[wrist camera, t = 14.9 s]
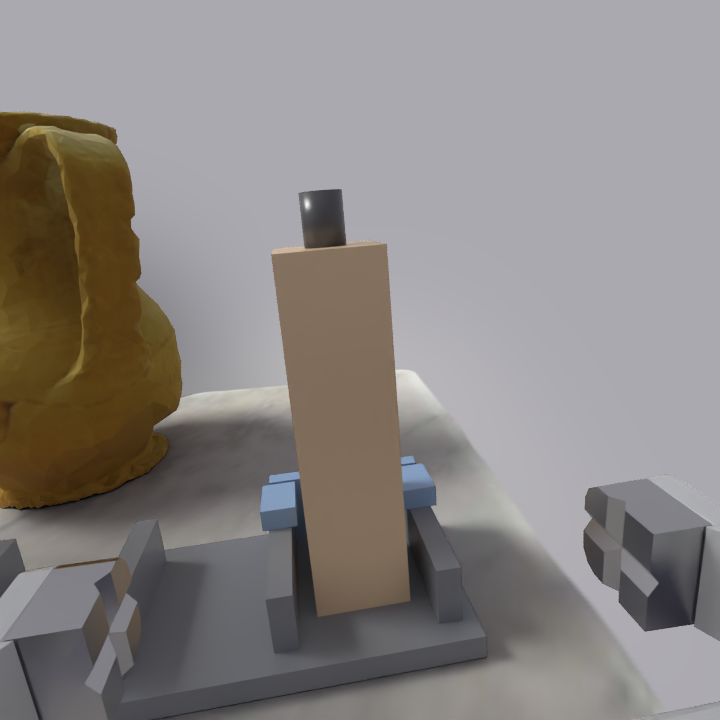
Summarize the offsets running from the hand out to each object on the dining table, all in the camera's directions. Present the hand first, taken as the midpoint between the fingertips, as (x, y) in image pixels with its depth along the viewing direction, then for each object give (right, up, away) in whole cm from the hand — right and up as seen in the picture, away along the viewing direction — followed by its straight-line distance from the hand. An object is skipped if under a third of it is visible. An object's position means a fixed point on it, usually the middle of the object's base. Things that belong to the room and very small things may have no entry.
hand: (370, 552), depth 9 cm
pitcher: (-21, -5, +30) cm, 37 cm away
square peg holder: (-7, -8, +14) cm, 18 cm away
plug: (0, -7, +15) cm, 16 cm away
